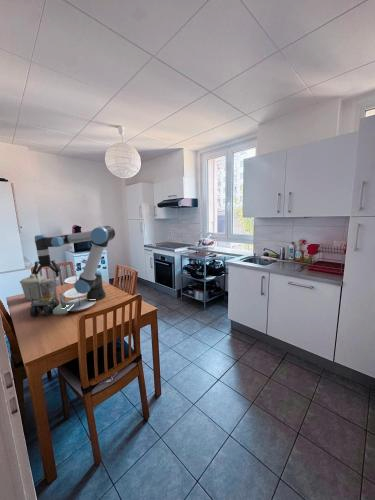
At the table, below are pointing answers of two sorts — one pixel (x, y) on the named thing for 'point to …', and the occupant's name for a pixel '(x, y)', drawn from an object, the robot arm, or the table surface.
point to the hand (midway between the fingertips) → (48, 281)
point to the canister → (29, 282)
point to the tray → (62, 311)
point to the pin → (62, 300)
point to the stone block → (48, 287)
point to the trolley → (42, 303)
